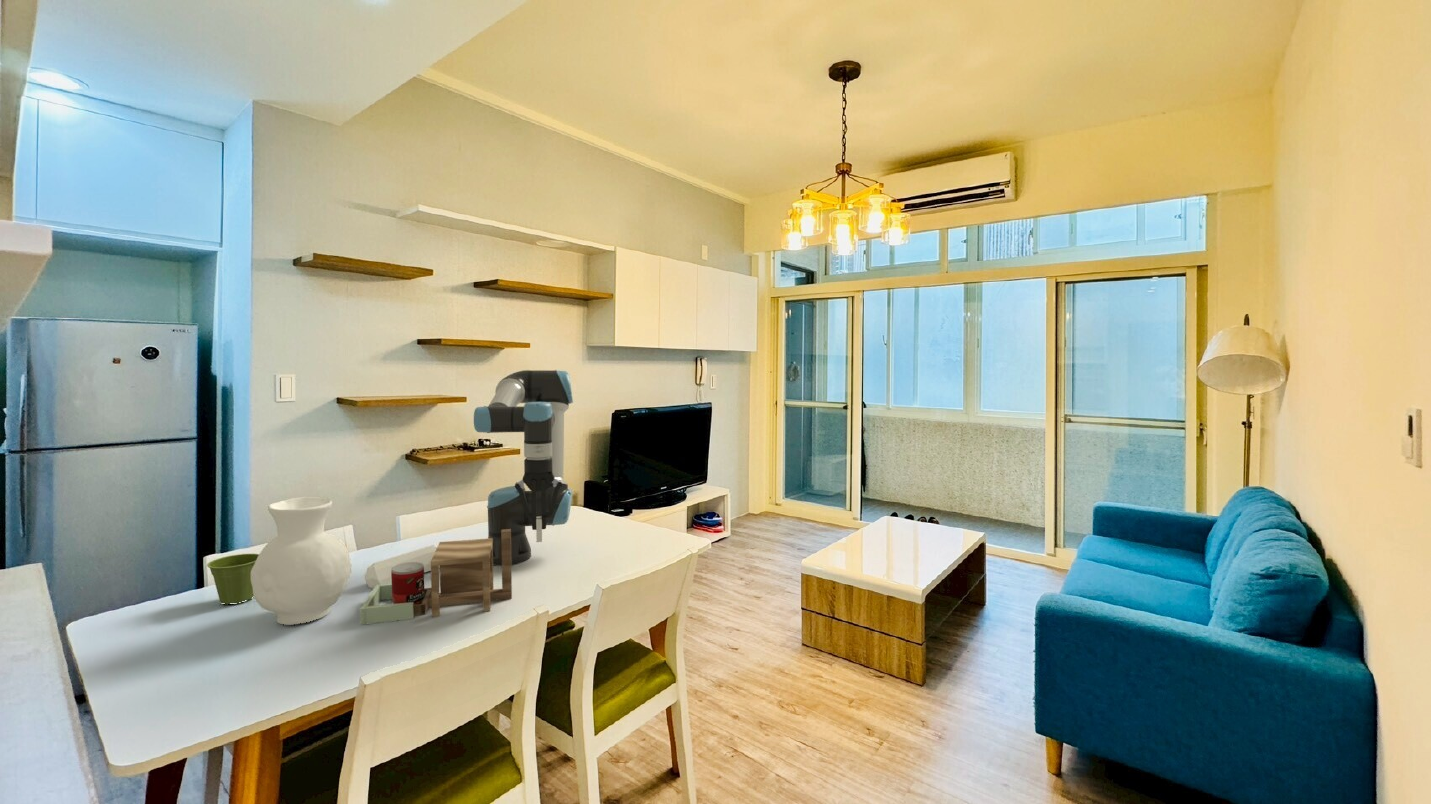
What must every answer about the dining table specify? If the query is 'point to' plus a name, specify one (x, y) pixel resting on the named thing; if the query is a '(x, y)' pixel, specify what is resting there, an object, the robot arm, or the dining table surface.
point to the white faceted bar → (382, 569)
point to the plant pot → (233, 577)
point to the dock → (384, 607)
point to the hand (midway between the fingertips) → (539, 540)
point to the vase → (300, 563)
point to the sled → (476, 595)
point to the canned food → (408, 583)
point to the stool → (462, 569)
